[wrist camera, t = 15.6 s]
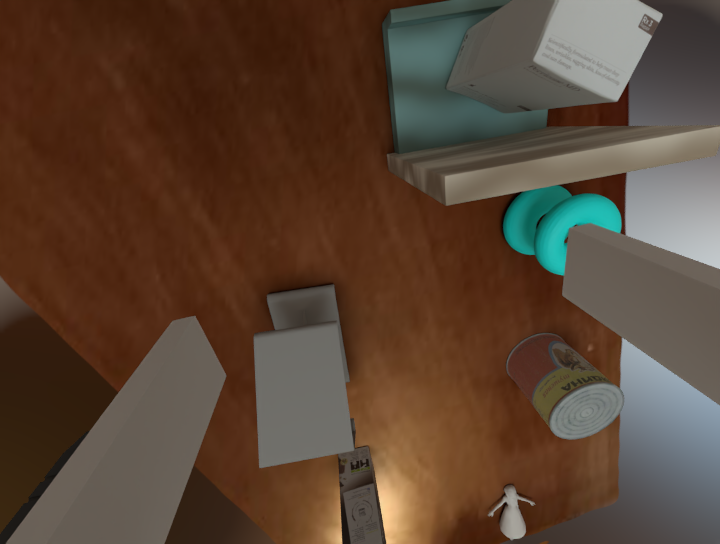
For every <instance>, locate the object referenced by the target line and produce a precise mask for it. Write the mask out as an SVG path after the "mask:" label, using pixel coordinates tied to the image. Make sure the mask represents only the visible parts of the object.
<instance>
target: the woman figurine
mask: <svg viewBox="0 0 720 544" xmlns="http://www.w3.org/2000/svg"><path fill="white" fill-rule="evenodd" d="M504 492H505V494H506V495H505V496H503V498H502V500H501V501H500V503H499V504H497V505H496V507H495V508H494V509H493V510H491V511H490V512H489V514H488V516H490V515H492V516H493V512H494V511H495V510H496V509H497V508H499V507H500V506H501V505H502V504H503V503H504V502H507V505H506V506H505V508H504V511H503V513H502V516H501V520H500V529H501V531H502V532H503V533H504V534H505V535H506V536H507V537H509V538H510V540H513V539H518V538H521V537H523V536H524V534H525V533H526V527H525V522H524V520H523V517H522V515H521V513H520V510H519V508H518V505H517V499H520V500H523V501H527V502H530V504H531V505H532V504H535V503H534V502H533V501H530V500H528V499H525V498H523V497H521V496H519V495H518V494H517V493H516V490H515V487H514V486H513V485H507V486H505V488H504ZM532 506H533V505H532Z"/></svg>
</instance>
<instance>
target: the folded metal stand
mask: <svg viewBox="0 0 720 544" xmlns="http://www.w3.org/2000/svg"><path fill="white" fill-rule="evenodd" d="M267 302H268V306H269V309H270V313H271V317H272V320H273V324H274V328H275V330H272V331H266V332H260V333H255V334H254V355H255V378H256V400H257V423H258V445H259V468H263V467H268V466H274V465H279V464H284V463H290V462H295V461H301V460H306V459H312V458H317V457H323V456H328V455H333V454H339V453H344V452H350V451H354V449H355V434H356V431H355V424H354V418H352V419H350V415H349V408H348V400H347V393H346V386H345V382H350V380H349V373H348V369H347V363H346V357H345V351H344V345H343V339H342V333H341V327H340V321H339V315H338V309H337V303H336V295H335V289H334V284H332V285H325V286H319V287H312V288H305V289H299V290H292V291H286V292H279V293H273V294H268V295H267Z"/></svg>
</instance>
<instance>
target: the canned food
mask: <svg viewBox="0 0 720 544" xmlns="http://www.w3.org/2000/svg"><path fill="white" fill-rule="evenodd" d="M506 370H507V373H508V374H509V376H510V377H511V378H512V379H513V380H514V382H515V383H516V384H517V385H518V387H519V388H520V389H521V391H522V392H523V393H524V395H525V396H526V397H527V398H528V400H529V401H530V402H531V404H532V405H533V406H534V408H535V409H536V410H537V411H538V413H539V414H540V415H541V417H542V418H543V419H544V421H545V422H546V423H547V424H548V426H549V427H550V429H551V431H552V432H553V433H554V434H555V435H556V436H558V437H560V438H563V439H580V438H584V437H587V436H590V435H593V434H595V433H597V432H599V431H601V430H602V429H604V428H605V427H607V426H608V425H609V424H610V423H611V422H613V421H614V419H615V418H616V417H617V416H618V415H619V413H620V411H621V410H622V407H623V404H624V395H623V392H622V391H621V389H620V388H618V387H617V386H616V385H614V384H613V383H612V382H610V381H609V380H608V379H607V378H606V377H605V376H604V375H602V374H601V373H600V372H599V371H598V370H597V369H596V368H594V367H593V366H592V365H591V364H590V363H589V362H588V361H586V360H585V359H584V358H583V357H582V356H581V355H579V354H578V353H577V352H576V351H575V350H574V349H573V348H571V347H570V346H569V345H568V344H567V343H566V342H565V341H564V340H563V339H562V338H561V337H560V336H558V335H556V334H552V333H540V334H536V335H533V336H530V337H528V338H526V339H524V340H523V341H521V342H520V343H519V344H518V345H517V346H515V348H514V349H513V350H512V351H511V353H510V354H509V356H508V359H507V362H506Z"/></svg>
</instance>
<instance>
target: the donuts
mask: <svg viewBox="0 0 720 544" xmlns="http://www.w3.org/2000/svg"><path fill="white" fill-rule="evenodd" d="M544 214H546V215H545V216H544V217H543V218H542V220H541V222H540V223H539V225H538V227H537V230H536V225H537V222H538V220H539V219H540V217H541V216H543V215H544ZM588 223H592V224H595V225H597V226H600V227H603V228H606V229H609V230H611V231H614V232H617V233H620V231H621V216H620V213H619V211H618V209H617V207H616V206H615V204H614V203H613V202H612V201H610V200H609V199H607V198H606V197H604V196H601V195H597V194H579V195H575V196H572V195H571V194H570V193H569V192H568V191H567V190H566V189H565V188H563V187H561V186H559V185H555V186H549V187H544V188H538V189H533V190H528V191H524V192H522V193H521V194H520V195H518V196H517V197H516V198H515V199H514V200H513V202H512V203H511V204H510V206H509V208H508V209H507V212H506V214H505V217H504V222H503V232H504V236H505V239H506V241H507V242H508V244H509V245H510V246H511V247H512V248H513V249H514V250H516V251H518V252H520V253H523V254H528V255H536V258H537V260H538V261H539V263H540V264H541V265H542V266H543V267H544V268H545V269H547V270H548V271H550V272H552V273H555V274H559V275H564V272H565V262H566V253H567V243H568V242H567V243H564V240H565V239H566V238H567V236H568V234H569V228H571V227H573V226H574V225H576V224H578V226H579V225H584V224H588Z"/></svg>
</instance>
